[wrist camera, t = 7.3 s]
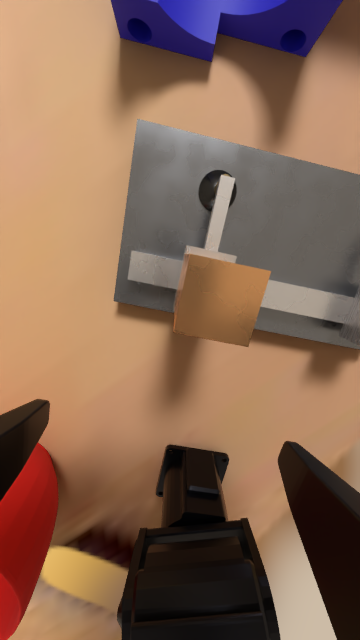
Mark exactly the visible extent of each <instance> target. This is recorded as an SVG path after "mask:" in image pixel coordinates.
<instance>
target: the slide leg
mask: <svg viewBox="0 0 360 640" xmlns="http://www.w3.org/2000/svg"><path fill="white" fill-rule="evenodd" d="M234 181H235V178H233V177H230V176H229V175H228V174H224V175H221V176H220V178H219V180H218V182H217V184H216V186H215V188H214V193H215V198H214V203H213V207H212V212H211V216H210V221H209V225H208V229H207V234H206V238H205V243H204V247H203V249H202V248H198V247H193V246H188V245H186V246H185V250H184V255H183V260H182V265H181V270H180V275H179V280H178V284H177V289H176V294H175V299H174V306H173V311H174V333H177V334H183V335H188V336H193V337H198V338H204V339H209V340H214V341H219V342H224V343H230V344H235V345H240V346H245V347H248V346H249V342H250V339H251V336H252V332H253V329H254V326H255V323H256V319H257V316H258V313H259V310H260V306H261V303H262V300H263V297H264V293H265V290H266V287H267V284H268V280H269V277H270V274H271V271H268V270H264V269H259V268H254V267H250V266H245V265H240V264H236V263H235V261H236V258H237V256H234V255H230V254H225V253H221V252H218V248H219V244H220V240H221V236H222V231H223V227H224V223H225V219H226V215H227V211H228V206H229V202H230V198H231V194H232V190H233V186H234Z"/></svg>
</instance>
